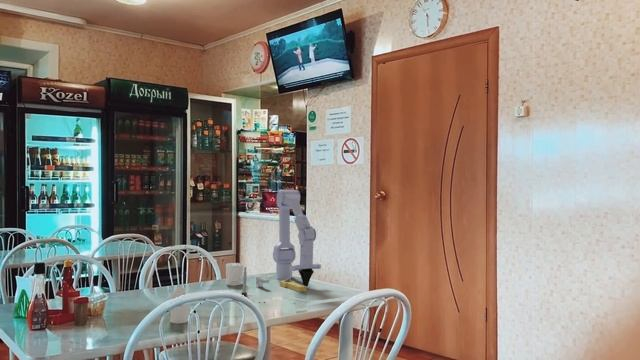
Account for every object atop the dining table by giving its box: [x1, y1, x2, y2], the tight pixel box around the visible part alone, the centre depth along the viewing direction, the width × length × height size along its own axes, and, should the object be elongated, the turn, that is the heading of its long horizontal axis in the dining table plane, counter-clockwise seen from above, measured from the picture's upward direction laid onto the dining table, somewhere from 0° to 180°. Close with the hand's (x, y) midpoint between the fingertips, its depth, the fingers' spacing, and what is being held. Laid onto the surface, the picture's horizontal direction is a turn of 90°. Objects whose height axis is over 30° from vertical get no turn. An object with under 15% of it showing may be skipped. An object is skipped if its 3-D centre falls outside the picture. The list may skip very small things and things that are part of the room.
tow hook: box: [240, 266, 253, 297], centre depth 219 cm, size 8×13×9 cm
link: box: [279, 279, 308, 293], centre depth 231 cm, size 16×5×2 cm, turn 34°
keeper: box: [255, 276, 270, 288], centre depth 230 cm, size 2×8×4 cm, turn 34°
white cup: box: [225, 262, 245, 286], centre depth 237 cm, size 8×8×10 cm
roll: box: [169, 285, 190, 325], centre depth 179 cm, size 6×12×6 cm
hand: (305, 285), depth 233 cm, fingers closed
